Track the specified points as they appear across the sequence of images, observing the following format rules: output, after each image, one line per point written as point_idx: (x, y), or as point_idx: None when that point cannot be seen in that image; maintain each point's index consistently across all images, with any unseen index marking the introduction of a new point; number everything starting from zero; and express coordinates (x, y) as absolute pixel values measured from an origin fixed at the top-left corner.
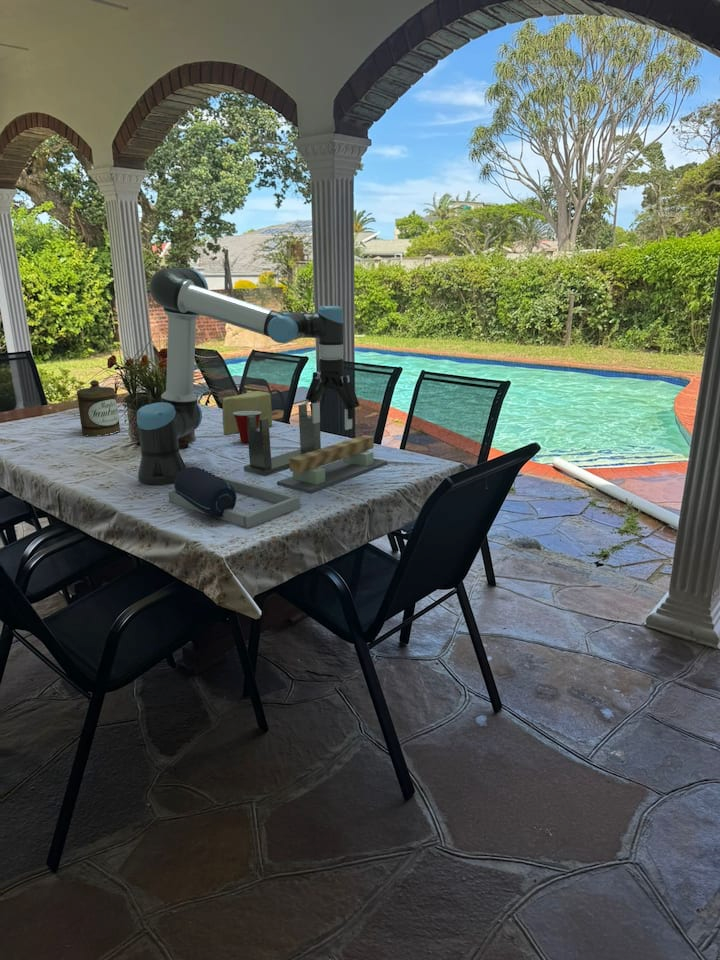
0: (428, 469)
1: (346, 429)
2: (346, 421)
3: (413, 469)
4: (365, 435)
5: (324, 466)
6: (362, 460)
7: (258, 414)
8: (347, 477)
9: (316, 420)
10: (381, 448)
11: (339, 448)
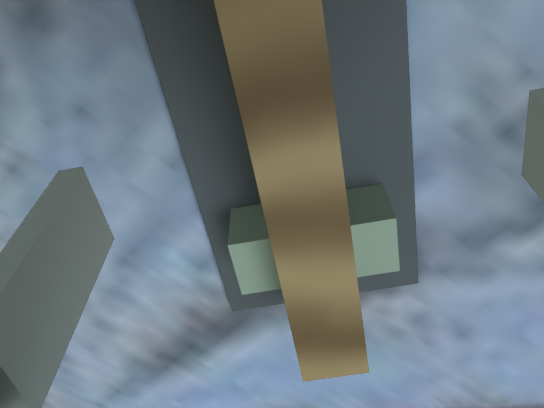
0: (67, 353)
1: (59, 173)
2: (24, 222)
3: (100, 322)
4: (357, 371)
5: (391, 55)
6: (252, 220)
7: None
8: (146, 32)
9: (539, 138)
10: (420, 399)
11: (241, 111)
